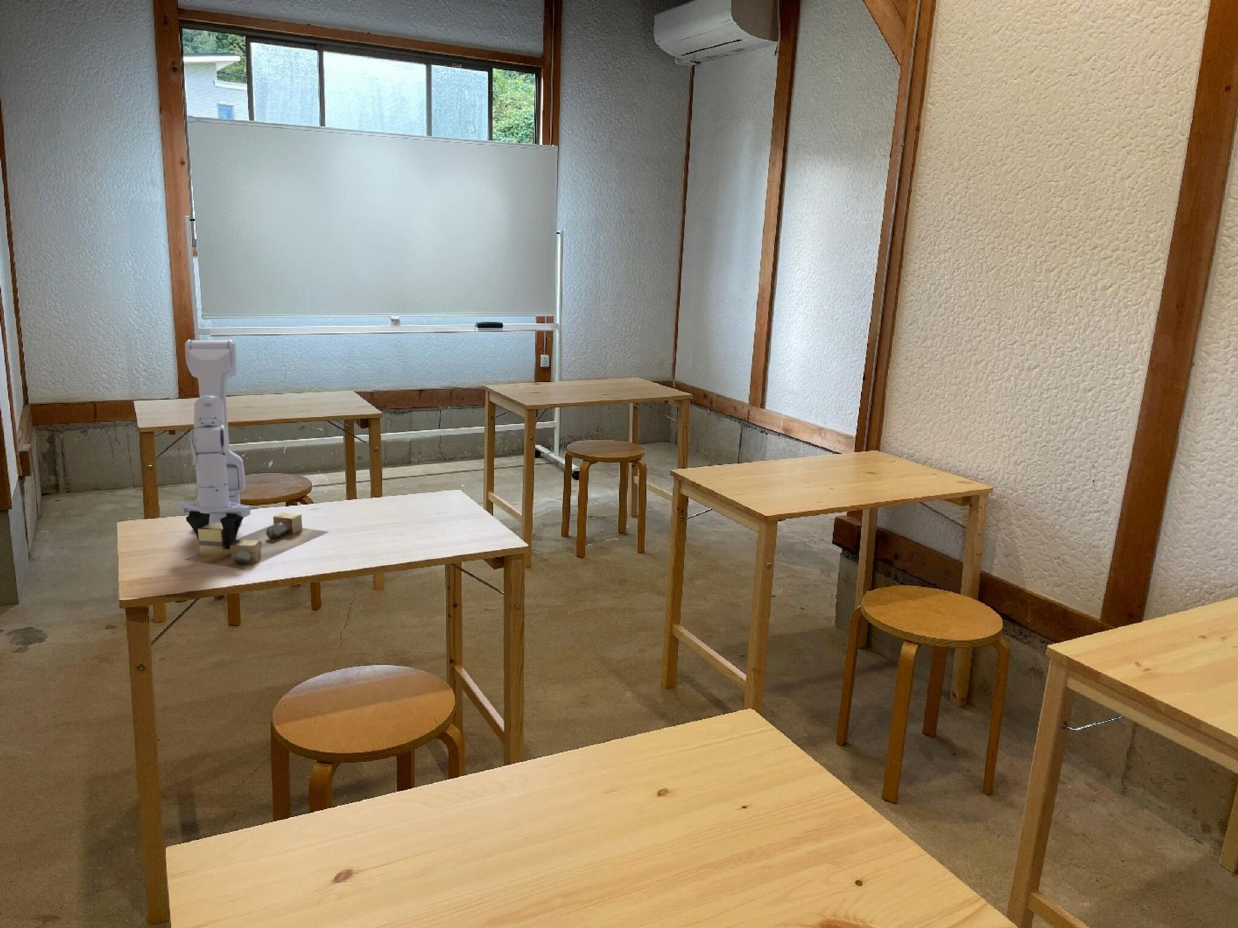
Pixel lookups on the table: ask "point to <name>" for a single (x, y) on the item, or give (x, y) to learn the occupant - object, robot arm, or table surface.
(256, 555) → the shaft
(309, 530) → the board
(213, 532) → the tan wooden block
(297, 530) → the shaft
